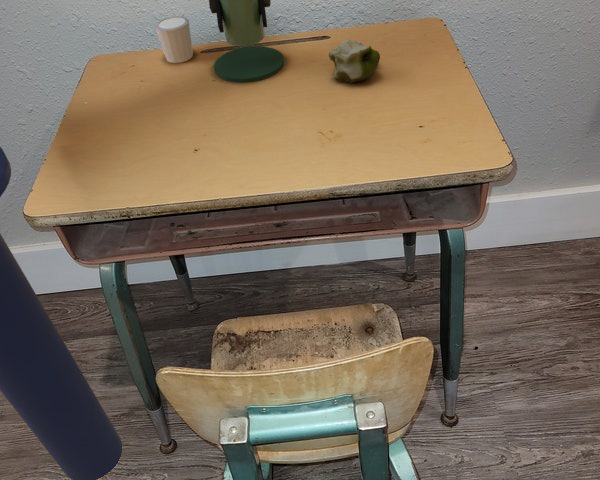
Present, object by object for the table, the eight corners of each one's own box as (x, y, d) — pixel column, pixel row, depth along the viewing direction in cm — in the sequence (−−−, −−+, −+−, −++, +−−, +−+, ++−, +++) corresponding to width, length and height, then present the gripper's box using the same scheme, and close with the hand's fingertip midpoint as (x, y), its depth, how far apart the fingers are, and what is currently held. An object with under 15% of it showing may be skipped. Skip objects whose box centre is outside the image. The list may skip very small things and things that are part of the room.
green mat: (232, 89, 112) (231, 85, 112) (203, 63, 121) (203, 59, 121) (296, 68, 116) (296, 64, 116) (264, 43, 125) (264, 39, 125)
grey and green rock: (383, 90, 110) (380, 52, 103) (333, 97, 111) (327, 61, 105) (378, 58, 115) (376, 20, 108) (331, 66, 116) (325, 29, 110)
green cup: (236, 50, 112) (226, -7, 104) (220, 37, 116) (210, -18, 109) (271, 39, 114) (264, -17, 106) (254, 26, 118) (246, -28, 111)
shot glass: (197, 61, 122) (189, 26, 117) (163, 66, 122) (155, 32, 117) (194, 47, 127) (187, 13, 122) (162, 52, 126) (154, 18, 121)
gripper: (283, -93, 113) (297, 28, 114) (177, -80, 113) (192, 41, 114) (282, -119, 106) (297, 10, 106) (168, -105, 106) (184, 24, 106)
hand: (243, 26), depth 110 cm, fingers closed on green cup, 7 cm apart
